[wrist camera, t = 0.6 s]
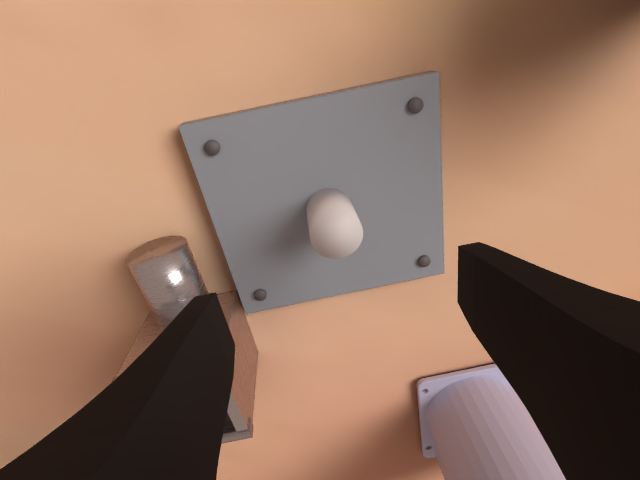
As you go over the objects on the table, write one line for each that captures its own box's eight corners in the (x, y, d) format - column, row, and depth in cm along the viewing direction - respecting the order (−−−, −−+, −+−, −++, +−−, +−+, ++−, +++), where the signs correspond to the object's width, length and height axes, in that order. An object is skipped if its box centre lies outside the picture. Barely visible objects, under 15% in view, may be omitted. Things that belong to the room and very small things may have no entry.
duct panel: (438, 264, 22) (467, 304, 19) (247, 303, 22) (240, 351, 19) (431, 70, 17) (470, 75, 14) (183, 122, 17) (157, 140, 14)
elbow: (259, 353, 24) (252, 437, 19) (182, 368, 24) (153, 457, 19) (213, 226, 20) (187, 290, 14) (118, 245, 20) (58, 316, 14)
